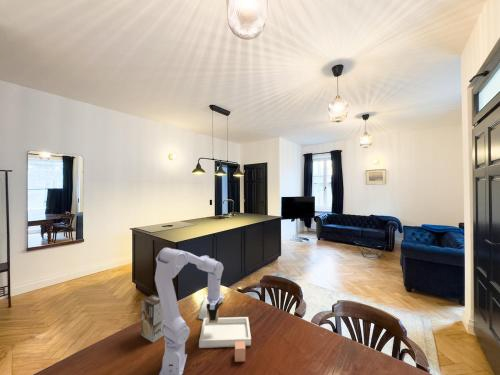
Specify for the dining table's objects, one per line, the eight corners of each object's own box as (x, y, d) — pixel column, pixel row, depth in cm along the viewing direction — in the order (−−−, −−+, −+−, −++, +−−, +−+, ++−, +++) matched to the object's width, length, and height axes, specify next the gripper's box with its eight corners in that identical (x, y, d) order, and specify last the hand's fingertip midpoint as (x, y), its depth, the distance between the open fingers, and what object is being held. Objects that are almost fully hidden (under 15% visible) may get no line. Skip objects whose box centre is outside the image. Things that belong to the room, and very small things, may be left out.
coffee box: (165, 334, 98) (166, 299, 98) (152, 343, 92) (154, 305, 92) (152, 327, 102) (153, 294, 103) (139, 335, 97) (141, 299, 97)
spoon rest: (208, 296, 134) (209, 285, 134) (226, 298, 132) (227, 287, 132) (192, 319, 111) (192, 305, 111) (214, 321, 109) (214, 307, 109)
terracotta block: (245, 361, 84) (245, 348, 84) (234, 361, 84) (235, 348, 84) (244, 353, 88) (244, 341, 88) (234, 353, 88) (235, 341, 88)
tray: (250, 346, 92) (251, 338, 92) (198, 347, 90) (199, 340, 90) (247, 322, 108) (248, 317, 108) (203, 324, 106) (204, 318, 106)
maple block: (217, 322, 97) (217, 311, 97) (208, 322, 97) (208, 311, 97) (218, 317, 101) (218, 306, 101) (209, 317, 101) (209, 306, 101)
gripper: (222, 294, 92) (221, 326, 92) (223, 280, 106) (222, 307, 106) (205, 294, 91) (204, 326, 91) (208, 280, 106) (208, 308, 106)
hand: (213, 316), depth 99 cm, fingers closed on maple block, 4 cm apart
